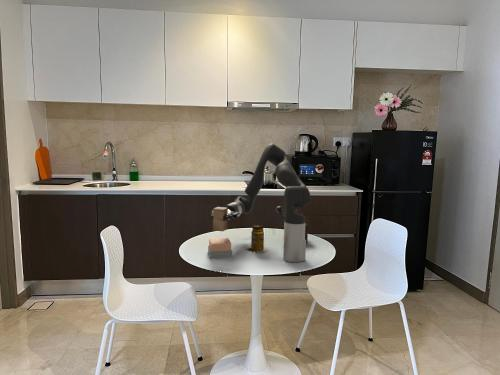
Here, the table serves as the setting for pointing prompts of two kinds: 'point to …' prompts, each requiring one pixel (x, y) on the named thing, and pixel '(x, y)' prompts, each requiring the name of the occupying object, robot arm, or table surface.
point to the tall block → (219, 219)
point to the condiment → (257, 239)
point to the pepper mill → (279, 210)
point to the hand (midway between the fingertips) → (218, 217)
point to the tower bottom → (219, 254)
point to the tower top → (220, 244)
